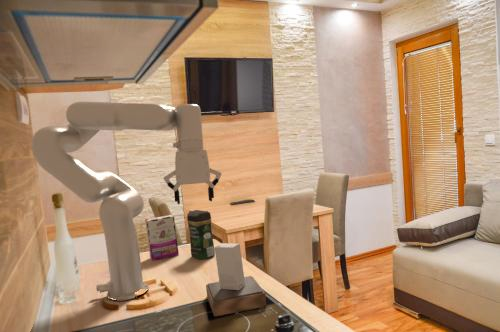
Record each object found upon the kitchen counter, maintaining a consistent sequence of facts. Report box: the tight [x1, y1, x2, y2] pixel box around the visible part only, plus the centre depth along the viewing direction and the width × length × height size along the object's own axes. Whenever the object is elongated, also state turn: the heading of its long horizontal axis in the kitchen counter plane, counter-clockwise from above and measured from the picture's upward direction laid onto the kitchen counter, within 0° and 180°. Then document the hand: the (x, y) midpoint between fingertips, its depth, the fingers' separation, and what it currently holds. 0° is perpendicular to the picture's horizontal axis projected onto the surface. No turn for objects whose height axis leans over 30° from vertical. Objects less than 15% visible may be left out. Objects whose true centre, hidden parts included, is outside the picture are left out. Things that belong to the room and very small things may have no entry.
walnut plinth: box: [205, 275, 267, 318], centre depth 110 cm, size 14×14×4 cm
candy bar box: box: [144, 214, 179, 262], centre depth 162 cm, size 11×5×16 cm, turn 114°
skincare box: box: [214, 242, 245, 290], centre depth 110 cm, size 6×4×12 cm
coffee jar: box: [186, 209, 216, 260], centre depth 157 cm, size 10×8×19 cm
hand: (194, 202), depth 121 cm, fingers open, 9 cm apart
